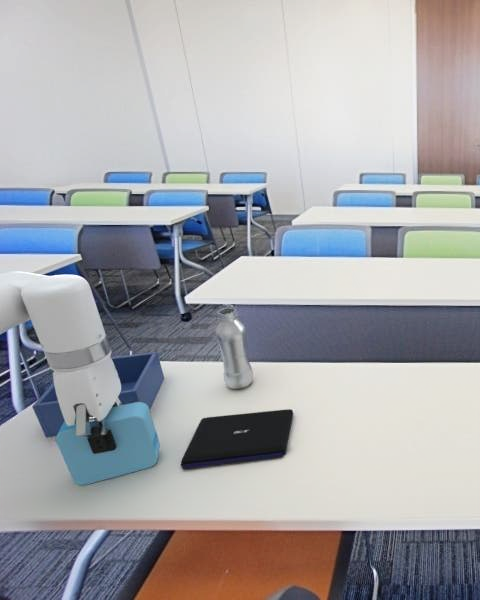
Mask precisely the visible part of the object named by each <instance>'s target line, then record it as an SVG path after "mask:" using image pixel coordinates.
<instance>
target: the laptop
mask: <svg viewBox="0 0 480 600" xmlns="http://www.w3.org/2000/svg"><path fill="white" fill-rule="evenodd" d="M293 417H294V410H293V409H290V408H289V409H277V410H267V411H258V412H257V411H256V412H247V413H238V414H228V415H220V416H219V415H217V416H207V417H203V418H202V419H200V421H199V423H198V426H197V427H196V429H195V431H194V432H193V436H192V438H191V439H190V442H189V443H188V446H187V448H186V450H185V451H184V454H183V456H182V458H181V461H180V467H181V469H183V470H186V469H195V468H202V467H209V466H211V467H212V466H218V465H228V464H234V463H235V464H236V463H242V462H250V461H259V460H266V459H267V460H268V459H275V458H282V457H284V456H285V455H286V453H287V448H288V444H289V438H290V433H291V428H292V422H293Z"/></svg>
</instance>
